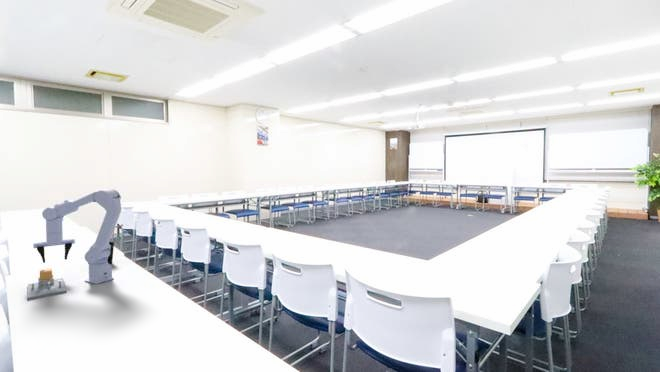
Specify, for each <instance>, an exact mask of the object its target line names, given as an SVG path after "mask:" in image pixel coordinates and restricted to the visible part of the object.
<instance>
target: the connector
mask: <svg viewBox="0 0 660 372" xmlns="http://www.w3.org/2000/svg"><path fill="white" fill-rule="evenodd" d="M52 275H53V269H52V268H46V269H40V270H39V277H40V280H46V279H52Z"/></svg>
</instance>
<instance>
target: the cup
mask: <svg viewBox="0 0 660 372" xmlns="http://www.w3.org/2000/svg"><path fill="white" fill-rule="evenodd" d="M109 244H110V245H111V247H110V256H109V257H108V260H107V262H108V263H109V264H110V265H113V258H114V248H115V242H114V241H110V242H109Z"/></svg>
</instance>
